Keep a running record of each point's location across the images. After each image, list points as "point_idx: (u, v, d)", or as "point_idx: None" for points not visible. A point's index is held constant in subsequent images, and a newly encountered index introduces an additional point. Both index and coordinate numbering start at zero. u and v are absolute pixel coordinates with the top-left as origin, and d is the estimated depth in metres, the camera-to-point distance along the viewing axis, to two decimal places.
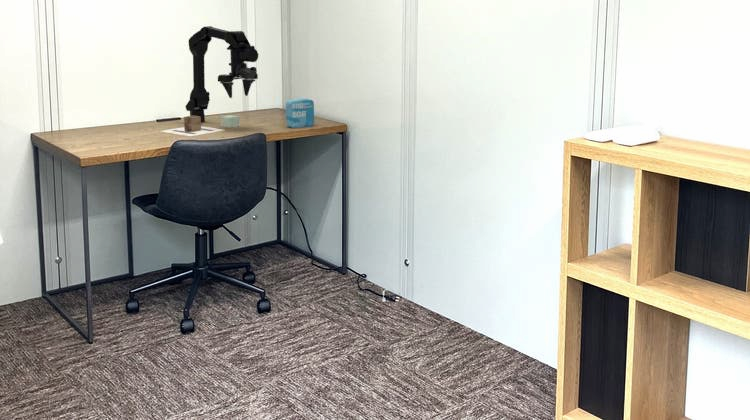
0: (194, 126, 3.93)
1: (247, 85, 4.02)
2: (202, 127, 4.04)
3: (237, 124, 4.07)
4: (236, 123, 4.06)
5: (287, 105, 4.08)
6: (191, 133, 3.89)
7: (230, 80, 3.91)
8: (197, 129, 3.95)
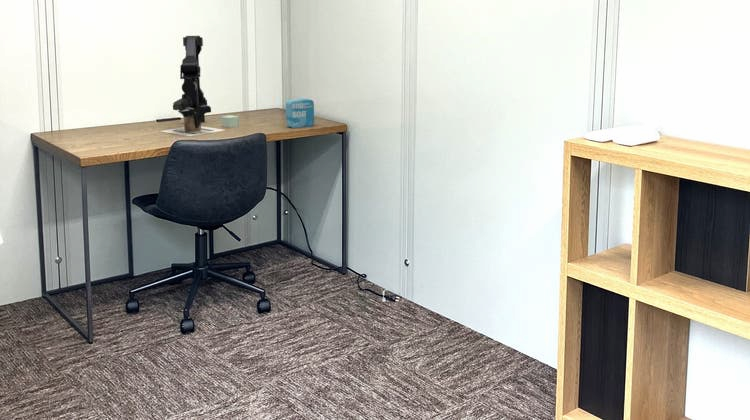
0: (194, 126, 3.93)
1: None
2: (202, 127, 4.04)
3: (237, 124, 4.07)
4: (236, 123, 4.06)
5: (287, 105, 4.08)
6: (191, 133, 3.89)
7: (175, 108, 3.96)
8: (197, 129, 3.95)
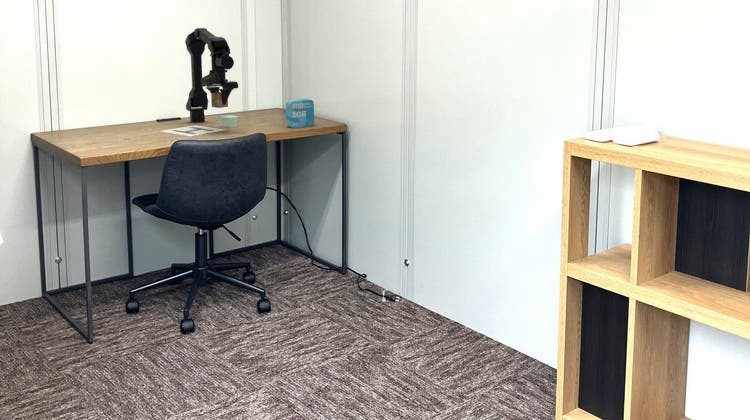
0: (221, 102, 3.92)
1: None
2: (202, 127, 4.04)
3: (237, 124, 4.07)
4: (236, 123, 4.06)
5: (287, 105, 4.08)
6: (191, 133, 3.89)
7: (202, 85, 3.95)
8: (224, 105, 3.94)
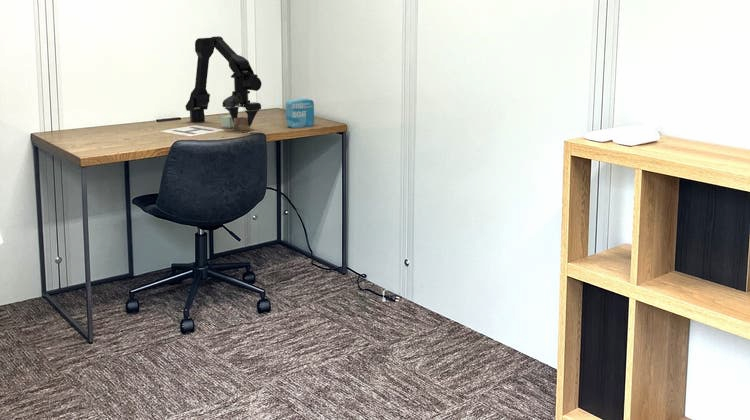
0: (244, 127, 3.97)
1: None
2: (202, 127, 4.04)
3: None
4: None
5: (287, 105, 4.08)
6: (191, 133, 3.89)
7: (225, 105, 3.99)
8: None
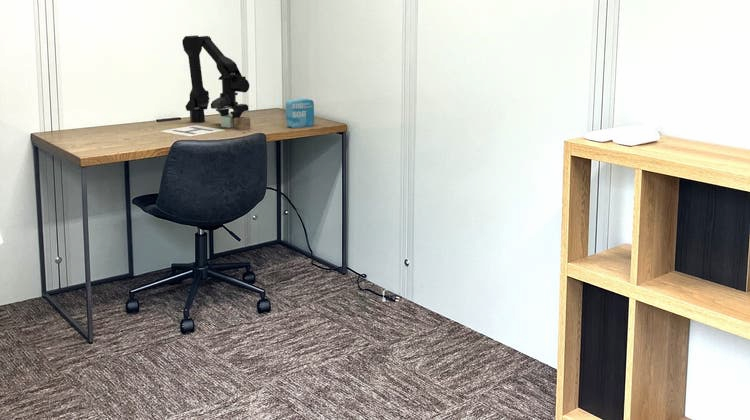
0: (244, 127, 3.97)
1: None
2: (202, 127, 4.04)
3: None
4: None
5: (287, 105, 4.08)
6: (191, 133, 3.89)
7: (213, 107, 4.07)
8: None
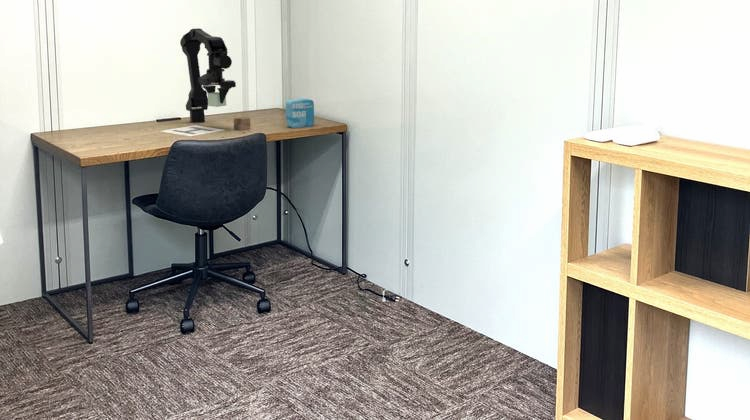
0: (244, 127, 3.97)
1: None
2: (202, 127, 4.04)
3: (224, 101, 4.00)
4: None
5: (287, 105, 4.08)
6: (191, 133, 3.89)
7: (199, 84, 4.00)
8: None
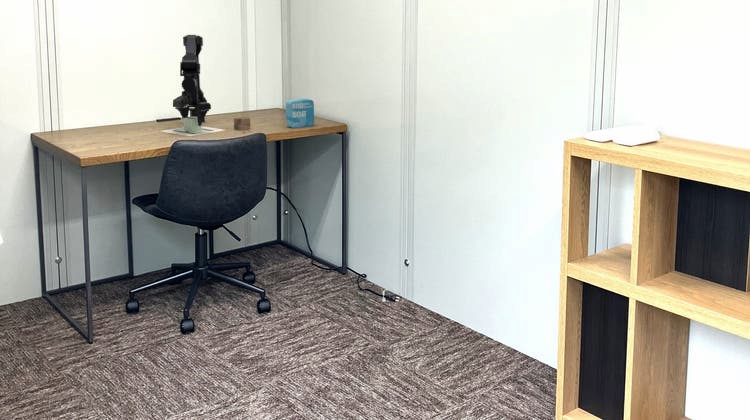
0: (244, 127, 3.97)
1: None
2: (202, 127, 4.04)
3: (200, 126, 3.95)
4: None
5: (287, 105, 4.08)
6: (191, 133, 3.89)
7: (175, 105, 3.95)
8: None
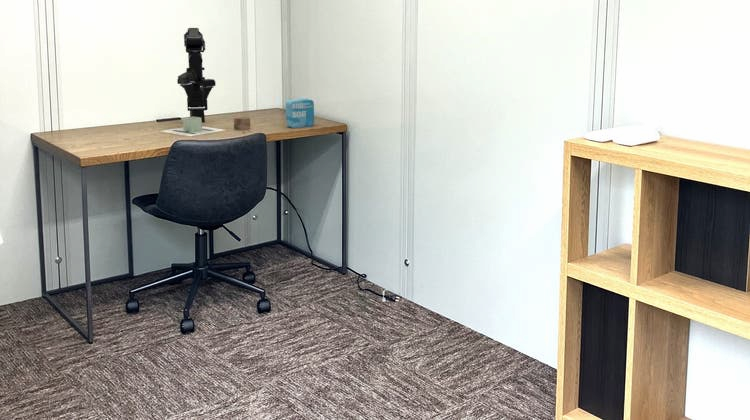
0: (244, 127, 3.97)
1: None
2: (202, 127, 4.04)
3: (200, 126, 3.95)
4: (199, 125, 3.95)
5: (287, 105, 4.08)
6: (191, 133, 3.89)
7: (179, 82, 3.97)
8: None
